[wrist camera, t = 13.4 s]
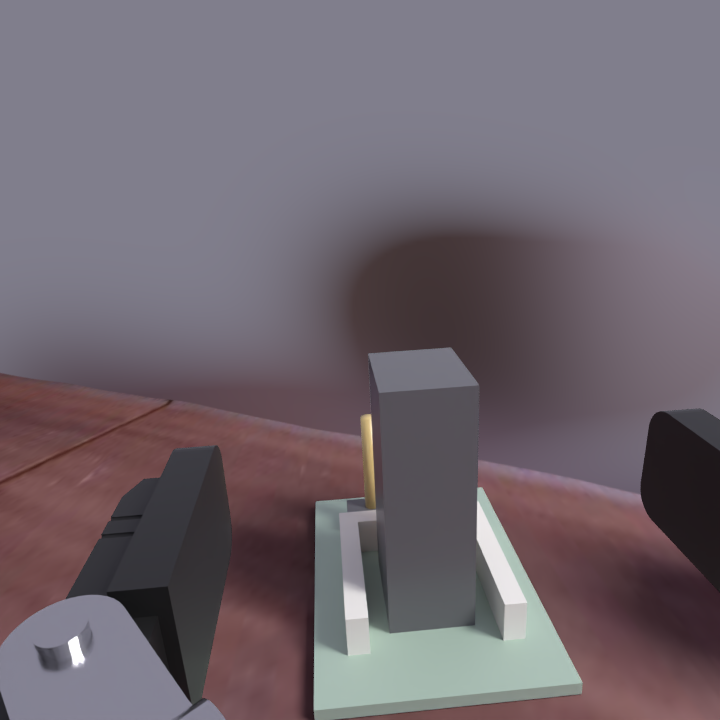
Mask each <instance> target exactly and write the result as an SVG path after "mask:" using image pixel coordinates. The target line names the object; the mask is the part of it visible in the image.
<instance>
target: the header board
mask: <svg viewBox="0 0 720 720" xmlns="http://www.w3.org/2000/svg"><path fill="white" fill-rule="evenodd" d="M361 436H362V454H363V471H364V489H365V497H364V498H352V499H340V500H328V501H316V514H315V624H314V718H315V720H335V719H345V718H354V717H364V716H374V715H384V714H393V713H403V712H413V711H422V710H432V709H442V708H451V707H461V706H471V705H480V704H490V703H500V702H510V701H519V700H529V699H539V698H548V697H558V696H568V695H577V694H582V684H583V683H582V681H581V679H580V677H579V675H578V673H577V671H576V669H575V667H574V665H573V663H572V661H571V659H570V658H569V656H568V654H567V652H566V650H565V648H564V646H563V644H562V642H561V640H560V638H559V636H558V634H557V632H556V630H555V628H554V626H553V624H552V622H551V621H550V619H549V617H548V615H547V613H546V611H545V609H544V607H543V605H542V603H541V601H540V599H539V597H538V595H537V593H536V591H535V589H534V587H533V586H532V584H531V582H530V580H529V578H528V576H527V574H526V572H525V570H524V568H523V566H522V564H521V562H520V560H519V558H518V556H517V554H516V552H515V551H514V549H513V547H512V545H511V543H510V541H509V539H508V537H507V535H506V533H505V531H504V529H503V527H502V525H501V523H500V521H499V519H498V517H497V515H496V514H495V512H494V510H493V508H492V506H491V504H490V502H489V500H488V498H487V496H486V494H485V492H484V490H483V488H477V545H476V603H475V625H472V626H462V627H452V628H442V629H431V630H421V631H411V632H401V633H391V634H390V632H389V626H388V619H387V613H386V607H385V600H384V594H383V587H382V581H381V575H380V568H379V561H378V541H377V521H376V501H375V481H374V461H373V441H372V421H371V414H366V415H362V416H361Z"/></svg>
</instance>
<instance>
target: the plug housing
mask: <svg viewBox="0 0 720 720" xmlns="http://www.w3.org/2000/svg"><path fill="white" fill-rule="evenodd" d="M368 362H369V381H370V399H371V400H370V401H371V421H372V441H373V461H374V481H375V501H376V521H377V541H378V561H379V568H380V575H381V581H382V587H383V594H384V600H385V607H386V613H387V619H388V626H389V632H390V634H391V633H401V632H411V631H421V630H431V629H442V628H452V627H462V626H472V625H475V603H476V545H477V487H478V427H479V384H478V383H477V382H476V380H475V379H474V378H473V376H472V375H471V374H470V372H469V371H468V370H467V368H466V367H465V366H464V365H463V363H462V362H461V360H460V359H459V358H458V356H457V355H456V354H455V352H454V351H453V350H452V348H441V349H440V348H439V349H426V350H412V351H398V352H385V353H370V354H368Z"/></svg>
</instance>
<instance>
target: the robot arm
mask: <svg viewBox="0 0 720 720" xmlns="http://www.w3.org/2000/svg"><path fill="white" fill-rule="evenodd" d="M641 498H642V502H643V505H644V508H645V510H646V512H647V514H648V515H649V517H650V518H651V520H652V521H653V522H654V523H655V524H656V525H657V526H658V527H659V528H660V529H661V530H662V531H663V532H664V533H665V535H666V536H667V537H668V538H669V539H670V540H671V541H672V542H673V543H674V544H675V545H676V546H677V547H678V548H679V549H680V551H681V552H682V553H683V554H684V555H685V556H686V557H687V558H688V559H689V560H690V561H691V562H692V563H693V564H694V565H695V567H696V568H697V569H698V570H699V571H700V572H701V573H702V574H703V575H704V576H705V577H706V578H707V579H708V580H709V581H710V583H711V584H712V585H713V586H714V587H715V588H716V589H717V590H718V591H719V592H720V420H719V419H718V418H716V417H714V416H713V415H711V414H710V413H708V412H707V411H705V410H702V409H686V410H674V411H660V412H657V413H656V414H654V416H653V417H652V419H651V421H650V424H649V430H648V437H647V445H646V452H645V458H644V465H643V472H642V479H641ZM101 535H102V538H101V539H99V540H98V542H97V543H96V545H95V547H94V549H93V551H92V552H91V554H90V556H89V558H88V560H87V561H86V563H85V565H84V567H83V569H82V570H81V572H80V574H79V576H78V578H77V579H76V581H75V583H74V585H73V587H72V588H71V590H70V592H69V594H68V596H67V597H66V599H65V600H63V601H60V602H57V603H55V604H52V605H50V606H48V607H46V608H44V609H42V610H40V611H38V612H37V613H35V614H34V615H32V616H31V617H29V618H28V619H26V620H25V621H24V622H23V623H21V624H20V625H19V626H18V627H17V628H16V629H15V630H14V631H13V632H12V633H11V634H10V635H9V636H8V637H7V639H6V640H5V641H4V642H3V644H2V646H1V647H0V720H226V719H225V718H224V717H223V715H222V714H221V713H220V711H219V710H218V709H217V708H216V707H215V706H214V704H213V703H211V702H210V701H209V700H207V699H205V698H203V699H201V698H202V693H203V689H204V684H205V679H206V674H207V669H208V664H209V659H210V654H211V649H212V644H213V639H214V634H215V629H216V624H217V620H218V615H219V610H220V605H221V600H222V595H223V590H224V585H225V580H226V575H227V570H228V565H229V560H230V555H231V546H232V528H231V518H230V511H229V504H228V497H227V490H226V484H225V477H224V470H223V463H222V457H221V452H220V449H219V447H218V446H217V445H216V446H203V447H190V448H177V449H174V450H173V452H172V454H171V456H170V458H169V460H168V462H167V465H166V467H165V469H164V471H163V473H162V475H161V477H160V478H150V479H143V480H142V481H141V482H140V483H139V484H137V485H136V486H135V487H134V488H133V489H131V490H130V491H129V492H128V493H127V494H125V495H124V496H123V497H122V498H121V500H120V502H119V504H118V506H117V507H116V509H115V511H114V513H113V515H112V516H111V521H109V522H108V524H107V525H106V527H105V529H104V531H103V533H102V534H101Z"/></svg>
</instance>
